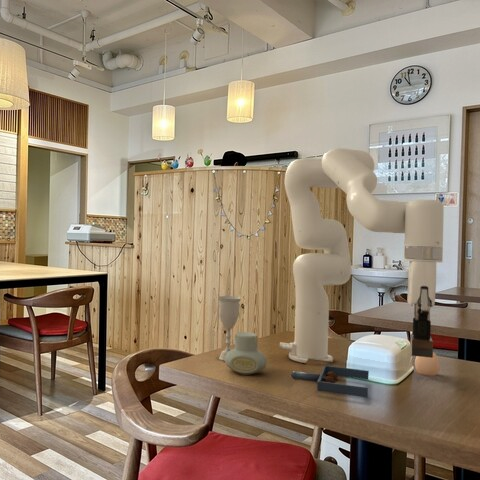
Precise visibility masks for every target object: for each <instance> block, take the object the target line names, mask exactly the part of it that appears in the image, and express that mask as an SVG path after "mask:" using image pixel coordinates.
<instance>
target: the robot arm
mask: <svg viewBox="0 0 480 480" xmlns="http://www.w3.org/2000/svg"><path fill="white" fill-rule="evenodd" d="M374 171H375V161H374V158H373V157H372V155H371V154H369V153H368V152H366V151H364V150H360V149H359V150H358V149H349V148H341V147H339V148H333V149H330V150H328V151H327V152H326V153H324V155H323V156H322V158H321V159H320V158H312V157H303V158H297V159H295V160H292V161H291V162H290V164H289V165H288V166H287V169H286V171H285V174H284V190H285V193H286V196H287V199H288V203H289V207H290V215H291V222H292V223H291V224H292V230H293V238H294V242H295V244H296V246H297V247H298V248H300V249H303V250H314V251H315V250H319V251H323V252H307V253H303V254H300V255H299V256H297V257H296V258H295V260H294V261H293V264H292V273H293V280H294V288H295V290H294V291H295V302H294V303H295V305H294V306H295V309H294V310H295V311H294V317H295V318H294V341H293V342H290V343H287V342H283V341H282V342H281V341H280V342H279V349H280V350H282V351H289V353H288V359H290V360H291V361H294V362H298V363H301V364H307V362H308V360H309V359H310V360H315V361H324V362H332V363H333V362H334V357H333V356H332V355H330V354H328V352H329V351H328V349H329V322H330V321H329V319H330V317H329V315H330V301H329V300H330V299H329V296H328V293H327V292H326V290H325V288H324V286H340V285H345V284H346V283H347V282H348V281H349V280H350V278H351V275H352V260H351V253H350V247H349V240H348V235H347V231H346V228H345V227H344V225H343V224H342V223H341V222H340V221H338V220H336V219H332V218H323V217H322V213H321V206H320V201H319V200H318V198H317V196H316V195H315V194H314V193H313V191H312V190H311V188H319V189H339V188H340V189H341V190H342V191H343V193H345V194H346V198H345V199H346V206H347V209H348V212H349V214H350V215H351V216H352V217H353V218H354V219H355V220H356V221H357V222H358V223H359V224H360V225H361V226H362V227H364V228H365V229H366V230H368V231H370V232H374V233H392V234H404V251H403V253H404V254H403V255H404V256H403V257H404V262H409V263H408V270H407V271H408V272H407V273H408V274H407V299H406V302H407V304H408V305H409V306H410V307H413V317H412V334H413V335H414V338H418V339H430V336H431V332H432V331H431V330H432V329H431V328H432V321H431V308H433V307H435V304H436V303H435V302H436V290H437V263H443V259H444V258H443V257H444V256H443V252H444V251H443V250H444V213H445V211H444V209H445V208H444V203H443V202H442V201H441V200H438V199H414V200H410V201H409V202H408V201H398V200H384V199H383V200H382V199H378V198H377V197H376V196H375V195H373V194H372V193H373V192H374V191H375V189H376V187H377V184H378V177H377V175H376V173H375V172H374Z"/></svg>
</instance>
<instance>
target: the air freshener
mask: <svg viewBox="0 0 480 480" xmlns="http://www.w3.org/2000/svg"><path fill="white" fill-rule="evenodd" d="M258 337H259V336H258V334H256V333H254V332H249V331H239V332H236V333H235V334H234V348H232V349H231V350H230V351H229V352H228V353H227V354H226V356H225V361H224V363H225V365H226V366H227V368H229V369H230V370H231V371H233V372H234V373H237V374H239V375H242V376H251V375H253V374H257V373H261V372H262V371H263V370H264V369H265V368H266V366H267V364H268V363H267V362H268V360H267V358H266V356H265V354H264V353H263V352H261V351H260V350H258Z"/></svg>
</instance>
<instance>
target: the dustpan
mask: <svg viewBox="0 0 480 480" xmlns="http://www.w3.org/2000/svg"><path fill="white" fill-rule="evenodd" d="M331 371H332V372H335V373H336V374H337V377H346V378H353V379H361V380H367V381H368V380H369V378H370V377H369V376H370V375H369V374H370V371H369V370H365V369H357V368H350V367H349V368H348V367H341V366H340V367H339V366H334V365H323V367H322V370H321V373H320V374H319V373H311V372H310V373H309V372H304V371H297V370H295V371H292V372H291V374H290V376H291V379H293V381H294V380H295V381H297V380H302V381H308V382H317V387H316V388H317V389H316V390H317V391H318V392H326V393H333V394H339V395H345V396H353V397H359V398H364V399H365V398H369V394H368V393H369V387H366V386H365V387H364V386H358V385H357V386H356V385H351V384H343V383H338V382H337V383H336V382H335V383H329V382H323V379H324V378H325V377H326V374H327V373H328V372H331Z"/></svg>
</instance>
